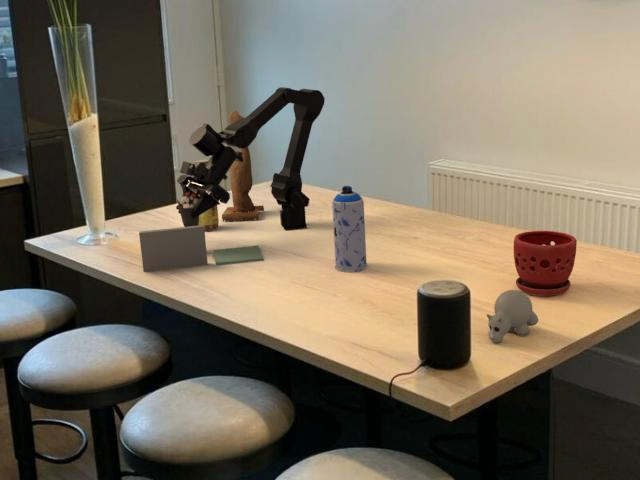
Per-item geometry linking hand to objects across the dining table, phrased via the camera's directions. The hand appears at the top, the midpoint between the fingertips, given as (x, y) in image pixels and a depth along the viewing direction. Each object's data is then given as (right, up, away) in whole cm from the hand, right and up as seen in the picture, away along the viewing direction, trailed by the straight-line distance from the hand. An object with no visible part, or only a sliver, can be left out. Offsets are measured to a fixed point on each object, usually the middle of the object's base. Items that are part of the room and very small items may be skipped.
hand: (185, 215), depth 246 cm
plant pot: (+84, -17, -40) cm, 95 cm away
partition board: (-1, -13, -9) cm, 16 cm away
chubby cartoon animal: (+71, -25, -64) cm, 99 cm away
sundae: (+2, -7, +3) cm, 8 cm away
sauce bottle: (+3, -3, +25) cm, 26 cm away
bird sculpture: (+12, 0, +36) cm, 38 cm away
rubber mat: (+14, -11, -2) cm, 18 cm away
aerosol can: (+43, -13, -17) cm, 48 cm away
